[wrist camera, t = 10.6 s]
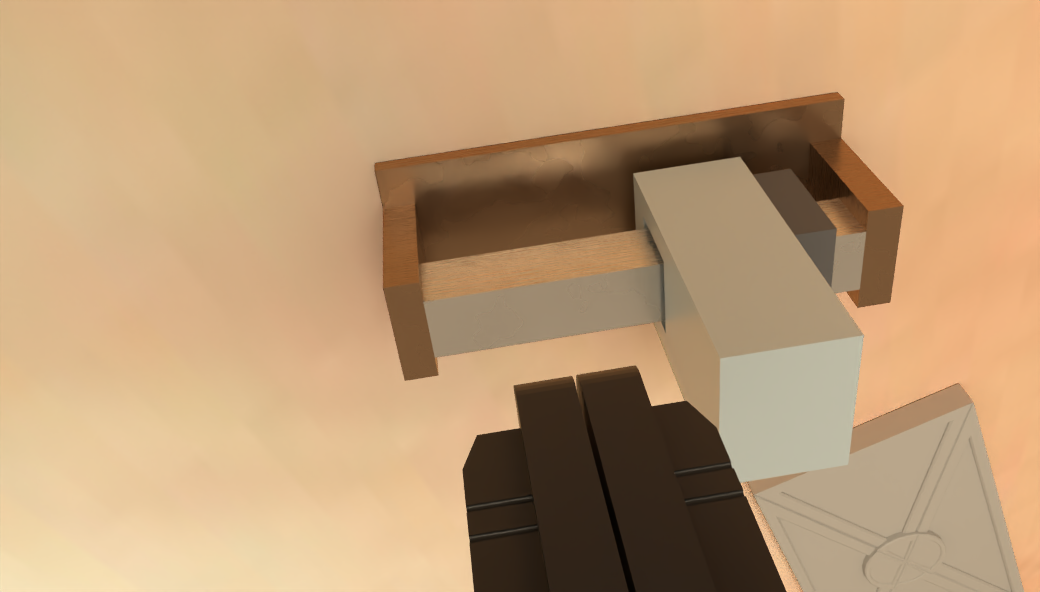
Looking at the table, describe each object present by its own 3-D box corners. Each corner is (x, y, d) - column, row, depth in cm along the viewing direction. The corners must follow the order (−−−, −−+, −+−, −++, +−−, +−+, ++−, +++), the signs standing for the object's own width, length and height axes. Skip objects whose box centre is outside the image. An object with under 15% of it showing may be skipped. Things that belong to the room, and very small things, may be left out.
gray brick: (744, 274, 46) (782, 340, 42) (747, 175, 43) (788, 236, 39) (784, 267, 46) (827, 333, 42) (790, 168, 43) (836, 228, 39)
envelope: (839, 659, 73) (1015, 591, 71) (851, 685, 71) (1032, 616, 69) (743, 471, 59) (956, 380, 57) (754, 498, 57) (975, 405, 55)
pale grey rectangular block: (638, 284, 47) (718, 486, 36) (633, 173, 44) (720, 358, 32) (737, 268, 47) (847, 464, 36) (740, 156, 44) (864, 335, 33)
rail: (409, 318, 50) (412, 414, 43) (374, 163, 44) (373, 246, 38) (823, 252, 50) (885, 337, 44) (837, 92, 45) (909, 163, 39)
